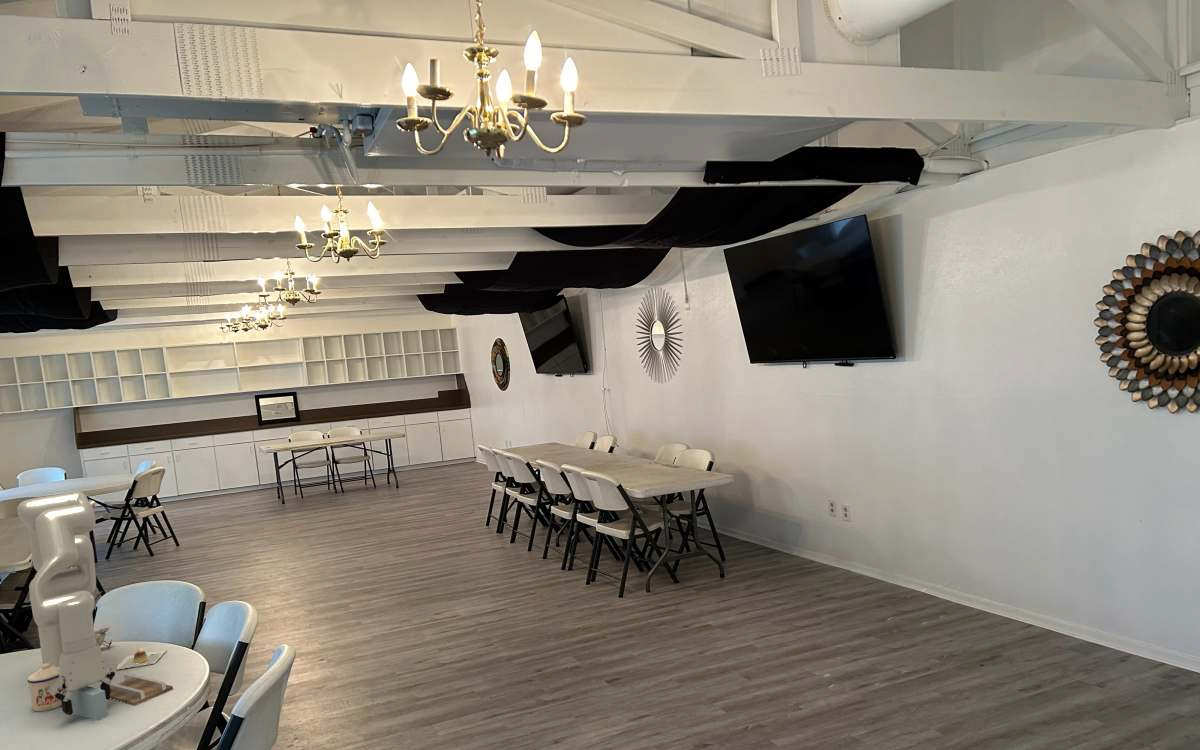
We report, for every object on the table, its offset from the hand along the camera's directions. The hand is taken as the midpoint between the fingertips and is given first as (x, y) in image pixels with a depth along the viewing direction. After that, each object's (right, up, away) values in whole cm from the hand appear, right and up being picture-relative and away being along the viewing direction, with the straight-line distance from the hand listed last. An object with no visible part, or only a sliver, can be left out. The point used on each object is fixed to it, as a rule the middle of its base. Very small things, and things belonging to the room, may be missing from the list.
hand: (87, 706), depth 224 cm
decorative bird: (-33, -3, +52) cm, 61 cm away
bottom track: (+6, -1, +13) cm, 14 cm away
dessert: (-7, -2, +39) cm, 39 cm away
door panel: (0, -2, 0) cm, 2 cm away
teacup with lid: (-15, -3, +10) cm, 19 cm away
